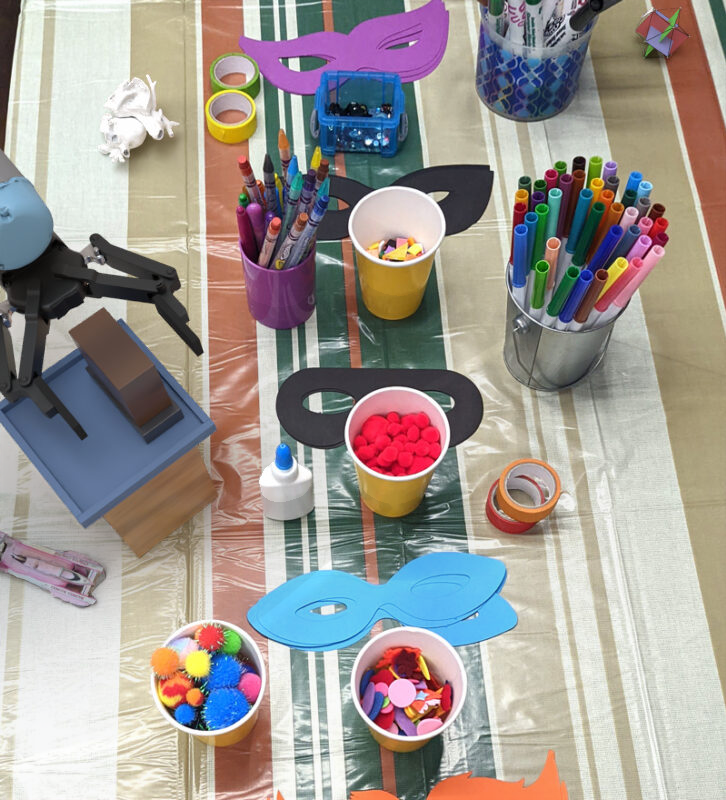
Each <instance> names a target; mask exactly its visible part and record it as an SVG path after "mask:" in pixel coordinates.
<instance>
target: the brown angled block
mask: <svg viewBox="0 0 726 800" xmlns="http://www.w3.org/2000/svg"><path fill="white" fill-rule="evenodd" d="M67 332H68V334H69V336H70V338H71V339H72V341H73V342H74V344H75V346H76V348H78V349H79V351H80V352H81V354H82V356H83V357H84V359H85V361H86V362H87V364H88V366H87V367H85V369H86V371H87V373H88V374H89V376H90V377H91V379H92V380H93V381H94V382H95V383H96V385H97V386H98V387H99V388H100V389H101V390H102V392H103V393H104V394H105V395H106V396H107V397H108V399H109V400H110V401H111V402H112V403H113V405H114V406H115V407H116V408H117V409H118V410H119V412H120V413H121V414H122V415H123V416H124V418H125V419H126V420H127V421H128V422H129V423H130V425H131V426H132V427H133V428H134V429H135V431H136V432H137V433H138V434H139V435H140V436H141V438H142V439H143V440H144V441H145V442H146V444H149V443H150V442H152V441H153V440H154V439H156V438H157V437H158V436H160V435H161V434H162V433H164V432H165V431H166V430H168V429H169V428H171V427H172V426H173V425H175V424H176V423H177V422H179V421H180V420H181V419H183V418H184V415H183V413H182V410H181V408H180V407H179V406H178V405H177V404H176V403H175V401H174V400H173V399H172V398H171V397H170V396H169V395H168V393H167V391H166V389H165V386H164V384H163V382H162V380H161V378H160V375H159V373H158V371H157V369H156V367H155V364H154V363H153V362H152V361H151V360H150V359H149V358H148V356H147V355H146V354H145V353H144V352H143V351H142V350H141V348H140V347H139V346H138V345H137V344H136V343H135V342H134V341H133V339H132V338H131V337H130V336H129V335H128V334H127V333H126V331H125V330H124V329H123V328H122V327H121V326H120V325H119V324H118V322H117V320H116V319H115V318H114V317H113V315H112V314H111V313H110V312H109V311H108V310H107V309H106V307H105V306H103V307H101V308H100V309H98V310H97V311H95V312H94V313H92V314H91V315H90V316H88V317H86V318H85V319H84V320H82V321H81V322H80V323H78V324H76V325H75V326H74V327H72V328H71V329H69V330H68V331H67Z"/></svg>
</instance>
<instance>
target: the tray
mask: <svg viewBox="0 0 726 800" xmlns="http://www.w3.org/2000/svg"><path fill="white" fill-rule="evenodd" d="M116 321H117V322H118V324H119V325H120V326H121V327H122V328H123V329H124V330H125V331H126V333H127V334H128V335H129V336H130V337H131V338H132V339H133V341H134V342H135V343H136V344H137V345H138V346H139V347H140V348H141V350H142V351H143V352H144V353H145V354H146V355H147V356H148V358H149V359H150V360H151V361H152V362H153V363H154V364H155V367H156V369H157V371H158V373H159V375H160V378H161V380H162V382H163V384H164V386H165V389H166V391H167V393H168V395H169V396H170V397H171V398H172V399H173V400H174V401H175V403H176V404H177V405H178V406H179V407H180V408H181V410H182V413H183V415H184V418H183V419H181V420H180V421H179V422H177V423H176V424H175V425H173V426H172V427H171V428H169V429H168V430H166V431H165V432H164V433H162V434H161V435H160V436H158V437H157V438H156V439H154V440H153V441H152V442H150V443H149V444H146V442H145V441H144V440H143V439H142V438H141V436H140V435H139V434H138V433H137V432H136V431H135V429H134V428H133V427H132V426H131V425H130V423H129V422H128V421H127V420H126V419H125V418H124V416H123V415H122V414H121V413H120V412H119V410H118V409H117V408H116V407H115V406H114V405H113V403H112V402H111V401H110V400H109V399H108V397H107V396H106V395H105V394H104V393H103V392H102V390H101V389H100V388H99V387H98V386H97V385H96V383H95V382H94V381H93V380H92V379H91V377H90V376H89V374H88V373H87V371H86V369H85V367H87V366H88V364H87V362H86V361H85V359H84V357H83V356H82V354H81V352H80V351H79V349H78V347H76V348H75V349H74V350H72V351H71V352H70V353H68V354H67V355H65V356H64V357H62V358H61V359H59V360H58V361H57V362H55V363H53V364H52V365H50V366H49V367H48V368H46V369H45V370H43V371H42V379H43V380H44V381H45V382H46V384H47V385H48V386H49V387H50V388H51V390H52V391H53V392H54V393H55V394H56V396H57V397H58V398H59V399H60V400H61V402H62V403H63V404H64V405H65V407H66V408H67V409H68V410H69V411H70V413H71V414H72V415H73V416H74V417H75V419H76V420H77V421H78V422H79V424H80V425H81V426H82V428H83V429H84V431H85V432H86V433H87V435H88V437H86V438H85V439H84V440H82V441H81V439H80V438H79V437H78V436H77V435H76V433H75V432H74V431H73V430H72V428H71V427H70V426H69V425H68V424H67V422H66V421H65V420H64V419H63V417H62V416H61V415H60V414H59V413H58V414H57V415H55V416H54V417H53V418H51V419H49V418H47V417H46V416H45V415H44V414H43V413H42V412H41V410H40V409H39V408H38V407H37V405H36V404H35V403H34V402H33V400H32V399H31V398H29V397H23V398H20V399H19V401H17V402H16V403H9V402H8V401H7V399H6V398H5V397H4V398H3V399H2V400H0V424H1V426H2V427H3V429H4V430H5V431H6V432H7V433H8V435H9V436H10V437H11V438H12V440H13V441H14V443H15V444H16V445H17V446H18V447H19V449H20V450H21V451H22V452H23V454H24V455H25V456H26V457H27V459H28V460H29V461H30V462H31V464H32V465H33V466H34V468H35V469H36V470H37V472H38V473H39V474H40V475H41V477H42V478H43V479H44V480H45V481H46V483H47V484H48V486H49V487H50V488H51V489H52V490H53V492H54V493H55V494H56V495H57V497H58V498H59V499H60V500H61V502H62V503H63V504H64V505H65V507H66V508H67V509H68V510H69V512H70V513H71V514H72V515H73V517H74V518H75V519H76V520H77V522H78V523H79V524H80V526H81V527H82V528H83V529H85V530H86V529H87V528H89V527H90V526H92V525H93V524H95V523H96V522H97V521H98V520H100V519H101V518H102V517H103V516H104V515H105V514H106V513H108V512H109V511H110V510H112V509H113V508H114V507H115V506H117V505H118V504H119V503H121V502H122V501H123V500H125V499H126V498H127V497H129V496H130V495H131V494H133V493H134V492H135V491H137V490H138V489H139V488H141V487H142V486H143V485H145V484H146V483H147V482H149V481H150V480H151V479H153V478H154V477H155V476H157V475H158V474H159V473H161V472H162V471H163V470H165V469H166V468H167V467H169V466H170V465H171V464H173V463H174V462H175V461H177V460H178V459H179V458H181V457H182V456H183V455H185V454H186V453H187V452H189V451H190V450H191V449H193V448H194V447H195V446H197V447H198V445H200V444H201V443H202V442H203V441H205V440H206V439H207V438H209V437H210V436H211V435H213V434H214V433H215V432H217V431H218V428H217V426H216V423H215V422H214V421H213V419H212V418H210V416H209V415H208V414H207V413H206V412H205V411H204V410H203V408H202V407H201V406H200V405H199V404H198V403H197V402H196V401H195V399H194V398H193V397H192V396H191V395H190V394H189V393H188V392H187V391H186V389H185V388H184V387H183V386H182V385H181V384H180V382H178V380H177V379H176V377H174V376H173V374H172V373H171V372H170V371H169V370H168V369H167V368H166V366H165V365H164V364H163V363H162V362H161V361H160V360H159V358H158V357H157V356H156V355H155V354H154V353H153V352H152V350H150V349H149V348H148V347H147V345H146V344H145V343H144V342H143V340H141V338H140V337H139V336H138V335H137V334H136V333H135V332H134V331H133V329H132V328H131V327H130V326H129V325H128V324H127V323H126V322H125V321H124V319H123V318H122V317H120V318H118V319H117V320H116Z"/></svg>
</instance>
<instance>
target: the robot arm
mask: <svg viewBox="0 0 726 800" xmlns="http://www.w3.org/2000/svg"><path fill="white" fill-rule="evenodd" d="M54 222H55V221H54V218H53V215H52V212H51V210H50V208H49V207H48V206H47V204H46V202H45V201H44V200H43V199H42V197H41V195H40V194H39V193H38V191H37V190H36V188H35V185H34V184H33V183H32V182H31V181H30V180H29V178H27V177H25V175H24V174H23V173H22V172H21V171H20V169H18V167H17V166H16V165H15V163H13V161H12V160H11V159H10V158H9V157H8V155H7V154H6V153H5V151H3V150H2V148H0V287H1V289H2V290H3V291H4V292H5V293H6V297H7V298H6V300H4V301H2V302H0V394H1V395H2V396H3V397H4V398H6V399H7V401H8V402H9V403H16V402H17V401H19V399H20V398H23V397H29V398H31V399H32V400H33V402H34V403H35V404H36V405H37V407H38V408H39V409H40V410H41V412H42V413H43V414H44V415H45V416H46V417H47V418H49V419H51V418H53V417H54V416H55V415H57V414H58V413H59V414H60V415H61V416H62V417H63V419H64V420H65V421H66V422H67V424H68V425H69V426H70V427H71V428H72V430H73V431H74V432H75V433H76V435H77V436H78V437H79V438H80V439H81V441H82V440H84V439H85V438H86V437H88V435H87V433H86V432H85V431H84V429H83V428H82V426H81V425H80V424H79V422H78V421H77V420H76V419H75V417H74V416H73V415H72V414H71V413H70V411H69V410H68V409H67V408H66V407H65V405H64V404H63V403H62V402H61V400H60V399H59V398H58V397H57V396H56V394H55V393H54V392H53V391H52V390H51V388H50V387H49V386H48V385H47V384H46V382H45V381H44V380H43V379H42V372H43V368H44V361H45V352H46V344H47V338H48V337H47V336H48V335H49V334H50V329H51V320H52V321H53V320H56V319H57V320H58V321H59V320H60V319H61V320H62V318H63V317H65V316H66V315H67V314H68V312H70V311H72V310H74V309H76V308H79V307H80V306H81V305H83V304H84V303H85V299H86V298H90V299H97V300H101V299H102V298H107V299H108V298H109V299H116V300H122V301H127V302H128V301H129V302H136V303H142V304H150V305H154V306H155V309H156V311H157V314H158V315H159V316H160V317H161V318H162V319H163V320H164V321H165V323H166V324H167V325H168V326H169V327H170V328H171V329H172V330H173V332H174V333H175V334H176V335H177V336H178V337H179V338H180V339H181V340H182V341H183V343H185V345H186V346H187V347H188V348H189V349H190V350H191V351H192V352H193V353H194V354H195V356H196V357H198V358H199V357H200V356H201V355H203V354H204V353H205V351H204V348H203V346H202V341H201V340H200V337H199V336H198V335H197V334H196V333H195V332H194V331H193V330H192V329H191V327H190V326H189V325H188V324H187V323H189V322H190V321H191V320H190V317H189V316H190V315H189V314H188V311H187V308H186V306H184V305H183V304H182V303H181V301H180V300H179V299H178V298H177V297H176V296H175V295H174V293H175V292H177V291H179V290H180V289H181V287H182V284H181V281H180V277H179V274H178V271H177V269H176V267H173V266H171V265H168V264H166V263H164V262H160V261H157V260H155V259H152V258H149V257H147V256H144V255H141V254H139V253H136V252H134V251H131V250H128V249H125V248H123V247H120V246H118V245H114V244H113V243H111V242H109V240H107V239H106V237H104V236H103V235H102V234H99V233H97V232H93V233H92V234H90V235H89V237H88V240H89V242H90V243H88V245H86V246H85V247H84V248H83V249H81V250H80V251H79V252H78V251H75V250H73V249H71V248H70V247H69V246H68V245H67V244H66V243H65V242H64V240H62V238H60V236H59V235H58V234H57V233H56V232H55V231H54V230H55V229H54V228H55V226H54V225H55V224H54ZM90 263H95V264H98V265H99V266H105V265H107V266H108V267H110V268H112V269H113V270H116V271H119V272H122V273H124V274H126V275H129V276H126V275H120V274H119V275H118V274H111V273H104V272H100V271H98V270H97V269H94V268H89V265H88V264H90ZM15 313H17V314H19V315H23V316H24V321H25V323H24V331H23V340H22V347H21V353H20V359H19V367H18V368H19V369H18V373H17V366H16V360H15V359H16V358H15V352H14V345H13V338H12V334H11V331H10V329H9V328H11V327H12V326H13V318H12V317H13V314H15Z"/></svg>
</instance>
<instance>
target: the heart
mask: <svg viewBox="0 0 726 800" xmlns="http://www.w3.org/2000/svg"><path fill="white" fill-rule="evenodd" d="M145 76H146V79H147V81H148V84H149V85H147V83H145V82H144V81H143V80H142V79H141V78H139V77H135V76H134V77H132V80H131V81H130V78H126V79H124V80H123V81H122V82H121V83H120V84H119V85H118V86H117V88H116V89H115V90H114V92H113V93H111V94H110V95H109V97H107V98H106V100H107V101H106V102H105V103H104V104H103V107H104V108H105V109H108V110H110V111H112V113H113V116H114V117H113V116H112V114H111V113H110V112H105V113H104V114H103V116H102V117H101V121H100V124H99V131H100V133H102V134H104V138H105V141H106V143H103V144H99V145H98V146H97V149H98V150H100V151H101V153H102V154H103V155H107V154H108V158H110V162H111V163H113V164H114V163H115V164H116V163H117V162H118V161H119V163H125V162H126V160H125V158H127V159H129V158H130V155H131V152H130V151H131V149H135V148H138V147H140V146H141V145H142V144H143V143H144V141H145V140H146V137H147V133H148V134H149V136H150V137H152V138H153V140H158V141H161V140H162V139H163V138H164V135H165V133H164V132H165V131H167V134H168V136H169V137H170V138H173V137H174V136H175V133H174V132H173V129H172V128H173V127H179V126H180V123H179V122H178V121H177V122H176V121H174V120H169V119H168V118H167V117H166V116H165V115H164V114H163V109H162V108H158V111H157V106H158V104H157V93H156V86H157V80H154V82H153V81H152V78H151V76H150V75H149V74H146V75H145ZM124 157H125V158H124Z"/></svg>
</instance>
